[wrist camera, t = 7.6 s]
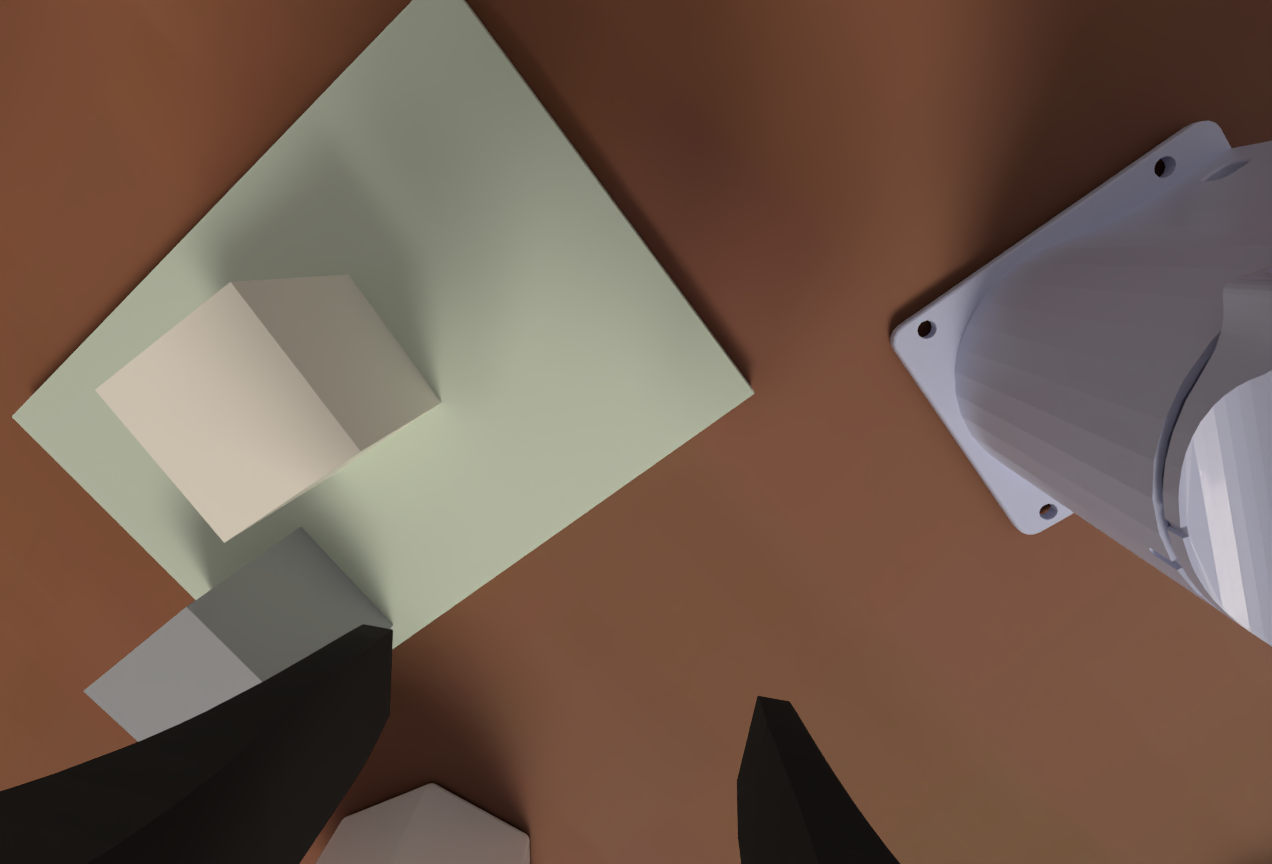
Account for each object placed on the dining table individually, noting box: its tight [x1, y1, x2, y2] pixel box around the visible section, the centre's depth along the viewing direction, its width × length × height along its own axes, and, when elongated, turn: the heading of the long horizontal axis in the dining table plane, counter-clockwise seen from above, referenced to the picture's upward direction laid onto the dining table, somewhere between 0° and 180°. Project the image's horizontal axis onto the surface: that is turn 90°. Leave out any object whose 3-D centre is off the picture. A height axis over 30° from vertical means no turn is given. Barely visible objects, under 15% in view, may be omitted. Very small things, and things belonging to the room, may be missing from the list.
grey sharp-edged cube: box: [84, 527, 393, 742], centre depth 20 cm, size 5×5×5 cm
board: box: [12, 0, 754, 649], centre depth 19 cm, size 20×14×4 cm
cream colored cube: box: [95, 274, 441, 543], centre depth 17 cm, size 5×5×5 cm
